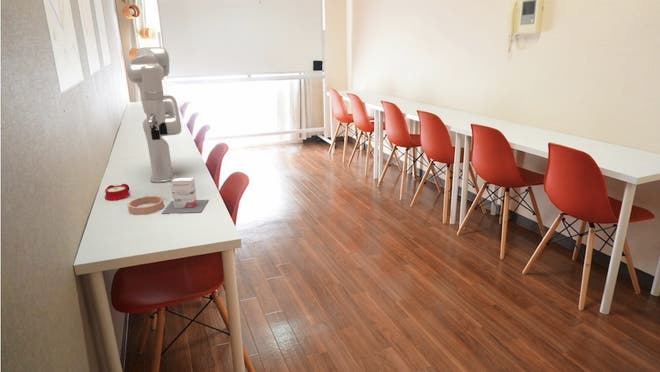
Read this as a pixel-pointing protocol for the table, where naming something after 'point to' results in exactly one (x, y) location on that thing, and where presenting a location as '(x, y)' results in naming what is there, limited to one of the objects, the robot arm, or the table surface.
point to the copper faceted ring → (147, 209)
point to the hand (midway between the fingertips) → (160, 137)
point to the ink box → (183, 192)
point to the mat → (196, 209)
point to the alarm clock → (117, 192)
